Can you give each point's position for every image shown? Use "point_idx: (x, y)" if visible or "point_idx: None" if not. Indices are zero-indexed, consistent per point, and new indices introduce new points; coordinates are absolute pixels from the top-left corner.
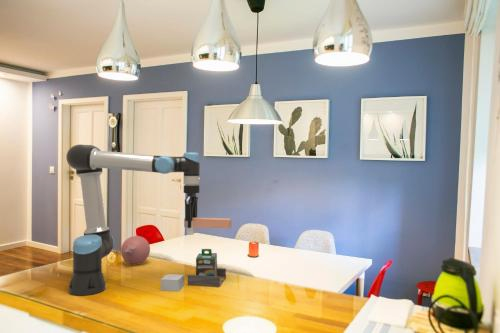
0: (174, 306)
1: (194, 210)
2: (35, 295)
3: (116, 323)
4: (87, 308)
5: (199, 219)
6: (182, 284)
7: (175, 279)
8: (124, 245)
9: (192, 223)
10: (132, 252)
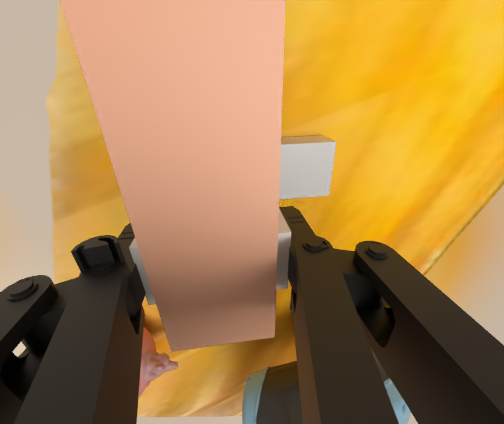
0: (431, 100)
1: (98, 414)
2: None
3: (495, 182)
4: (414, 261)
5: (280, 144)
6: (286, 138)
7: (330, 153)
8: (142, 392)
9: (282, 216)
10: (153, 355)
